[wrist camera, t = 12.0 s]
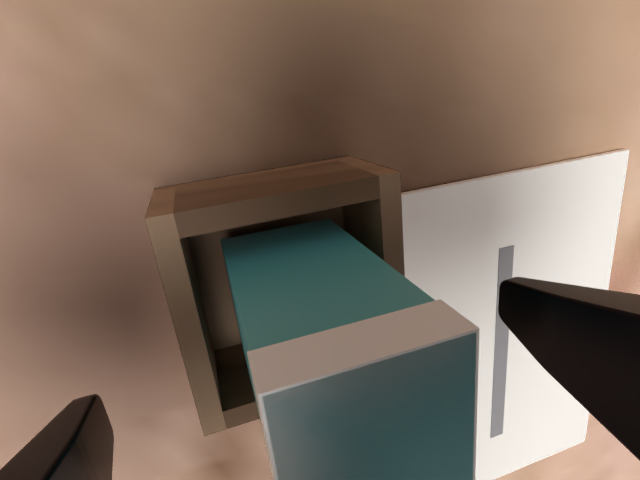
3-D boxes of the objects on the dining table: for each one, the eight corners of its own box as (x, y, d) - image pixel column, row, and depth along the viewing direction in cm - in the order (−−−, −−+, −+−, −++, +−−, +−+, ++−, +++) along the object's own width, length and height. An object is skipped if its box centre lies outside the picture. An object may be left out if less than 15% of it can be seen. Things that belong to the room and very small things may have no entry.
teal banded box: (328, 297, 14) (474, 490, 7) (234, 320, 14) (292, 567, 6) (317, 207, 13) (479, 328, 6) (215, 226, 12) (257, 394, 5)
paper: (580, 437, 23) (585, 441, 22) (386, 518, 20) (389, 524, 19) (622, 148, 17) (630, 149, 17) (361, 200, 14) (365, 202, 14)
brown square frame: (363, 316, 16) (408, 370, 13) (199, 361, 14) (204, 436, 11) (349, 155, 14) (400, 171, 10) (154, 188, 12) (144, 218, 9)
